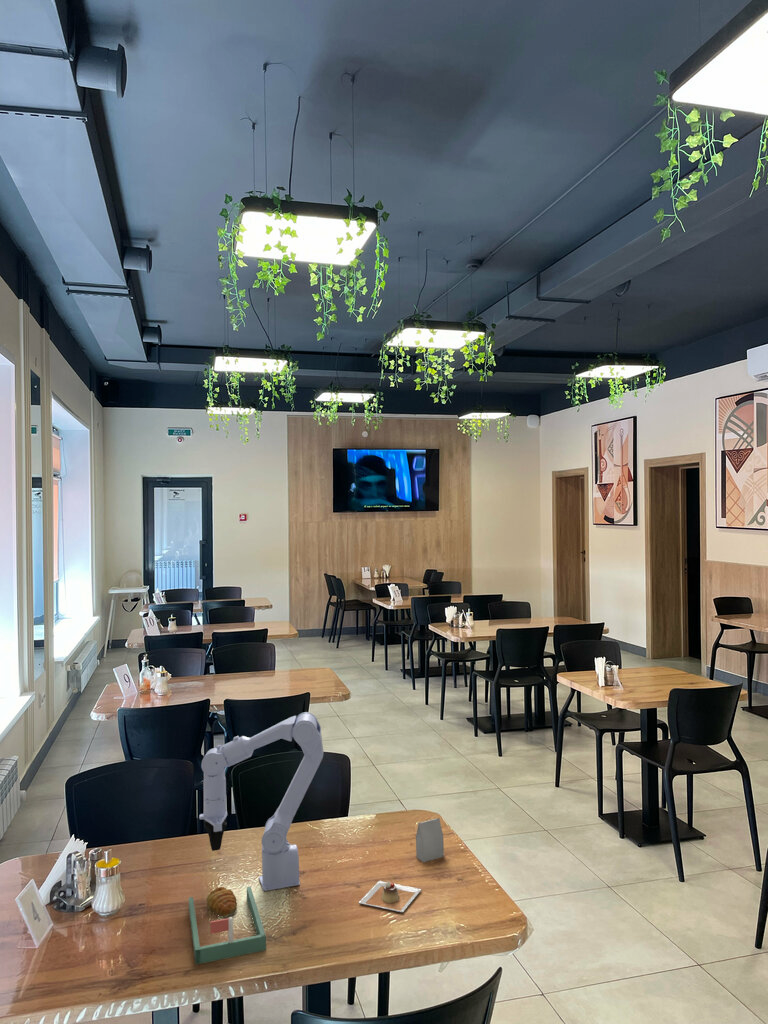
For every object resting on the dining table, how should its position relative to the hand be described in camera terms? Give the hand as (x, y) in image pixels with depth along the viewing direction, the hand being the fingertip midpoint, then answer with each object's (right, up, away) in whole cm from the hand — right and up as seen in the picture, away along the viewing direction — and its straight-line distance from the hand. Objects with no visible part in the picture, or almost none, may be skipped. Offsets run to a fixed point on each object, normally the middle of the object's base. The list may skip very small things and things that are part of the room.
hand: (215, 849), depth 187 cm
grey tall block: (+57, -9, +13) cm, 59 cm away
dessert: (+46, -9, -9) cm, 47 cm away
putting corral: (+7, -8, -21) cm, 24 cm away
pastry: (+5, -9, -11) cm, 15 cm away
